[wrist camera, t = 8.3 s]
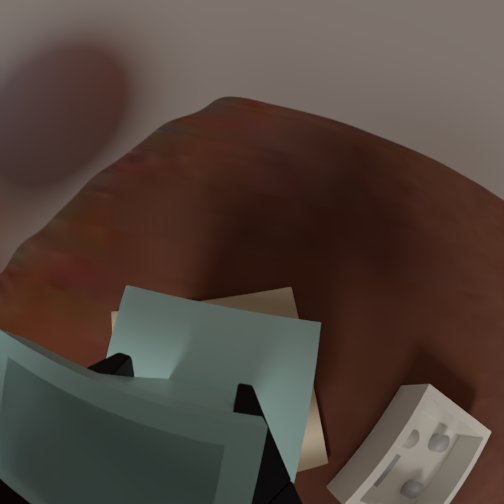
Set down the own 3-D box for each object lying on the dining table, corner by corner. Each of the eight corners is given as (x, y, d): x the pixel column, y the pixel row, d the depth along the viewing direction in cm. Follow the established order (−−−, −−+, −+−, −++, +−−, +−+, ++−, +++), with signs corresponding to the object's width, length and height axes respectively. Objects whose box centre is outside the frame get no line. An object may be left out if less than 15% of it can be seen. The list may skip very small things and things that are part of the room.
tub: (402, 519, 12) (425, 533, 8) (325, 486, 14) (343, 505, 11) (463, 430, 15) (491, 431, 12) (400, 385, 18) (429, 383, 14)
